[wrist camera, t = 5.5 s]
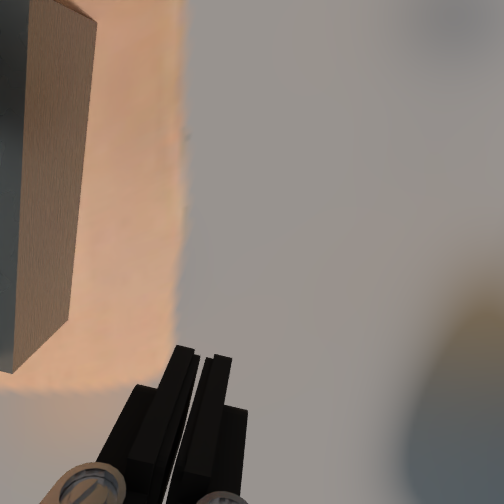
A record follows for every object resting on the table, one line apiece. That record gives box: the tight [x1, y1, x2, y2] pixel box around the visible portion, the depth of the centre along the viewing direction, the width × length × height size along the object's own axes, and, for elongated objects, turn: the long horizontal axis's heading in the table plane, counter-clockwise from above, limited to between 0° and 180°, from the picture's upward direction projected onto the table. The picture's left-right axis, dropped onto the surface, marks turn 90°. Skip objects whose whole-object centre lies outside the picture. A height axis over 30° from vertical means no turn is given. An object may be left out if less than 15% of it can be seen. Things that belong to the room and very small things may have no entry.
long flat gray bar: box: [0, 0, 97, 374], centre depth 24 cm, size 21×2×7 cm, turn 166°
